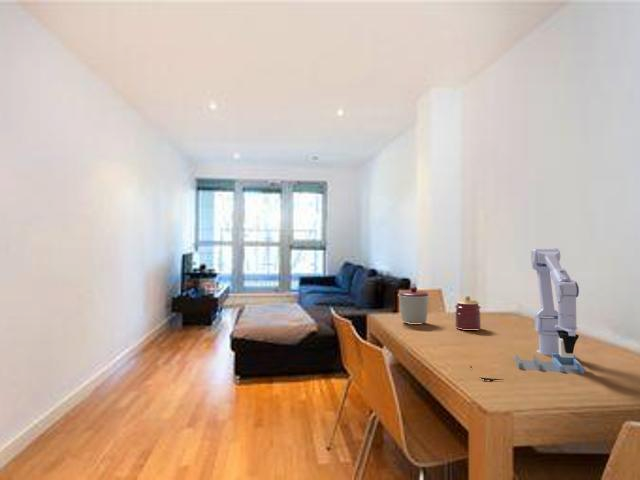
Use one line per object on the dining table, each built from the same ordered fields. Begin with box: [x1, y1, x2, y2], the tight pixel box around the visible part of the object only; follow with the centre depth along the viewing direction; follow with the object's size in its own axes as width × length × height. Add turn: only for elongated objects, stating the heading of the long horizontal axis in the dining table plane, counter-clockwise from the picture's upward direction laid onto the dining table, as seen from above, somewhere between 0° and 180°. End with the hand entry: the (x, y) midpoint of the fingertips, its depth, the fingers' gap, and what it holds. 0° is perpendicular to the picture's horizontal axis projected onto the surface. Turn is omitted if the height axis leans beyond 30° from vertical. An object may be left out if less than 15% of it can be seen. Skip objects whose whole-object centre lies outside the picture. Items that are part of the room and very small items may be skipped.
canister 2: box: [454, 295, 482, 330], centre depth 223 cm, size 13×13×18 cm
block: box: [558, 337, 575, 358], centre depth 153 cm, size 4×4×6 cm
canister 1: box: [397, 286, 431, 324], centre depth 239 cm, size 18×18×21 cm
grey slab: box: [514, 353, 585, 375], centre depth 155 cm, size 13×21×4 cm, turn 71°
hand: (567, 351), depth 153 cm, fingers closed on block, 4 cm apart
